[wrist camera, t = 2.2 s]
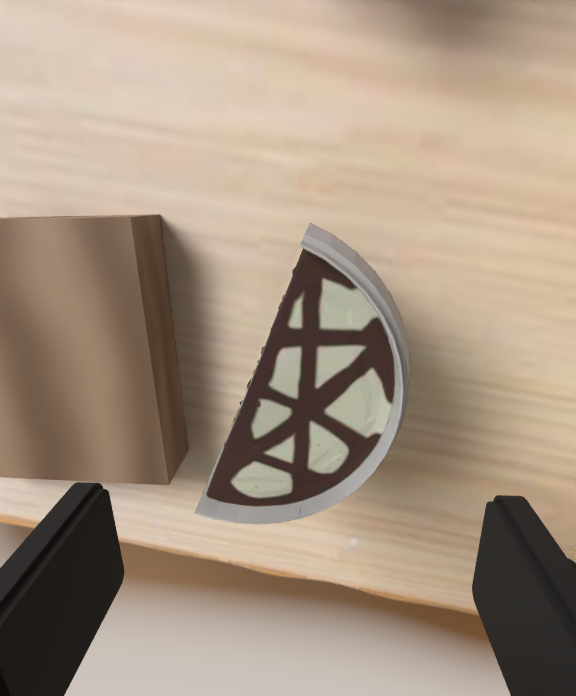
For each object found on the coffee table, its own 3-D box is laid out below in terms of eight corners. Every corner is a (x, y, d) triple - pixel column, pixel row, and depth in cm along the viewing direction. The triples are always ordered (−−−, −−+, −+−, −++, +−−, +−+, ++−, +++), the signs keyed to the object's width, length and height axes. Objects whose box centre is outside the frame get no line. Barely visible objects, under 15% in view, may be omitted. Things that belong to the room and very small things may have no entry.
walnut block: (163, 214, 23) (130, 217, 19) (190, 446, 28) (168, 484, 24) (-68, 218, 24) (-141, 222, 20) (-1, 439, 29) (-50, 475, 25)
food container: (330, 441, 26) (331, 576, 17) (240, 405, 26) (190, 522, 16) (424, 259, 22) (495, 305, 12) (317, 214, 22) (307, 226, 12)
